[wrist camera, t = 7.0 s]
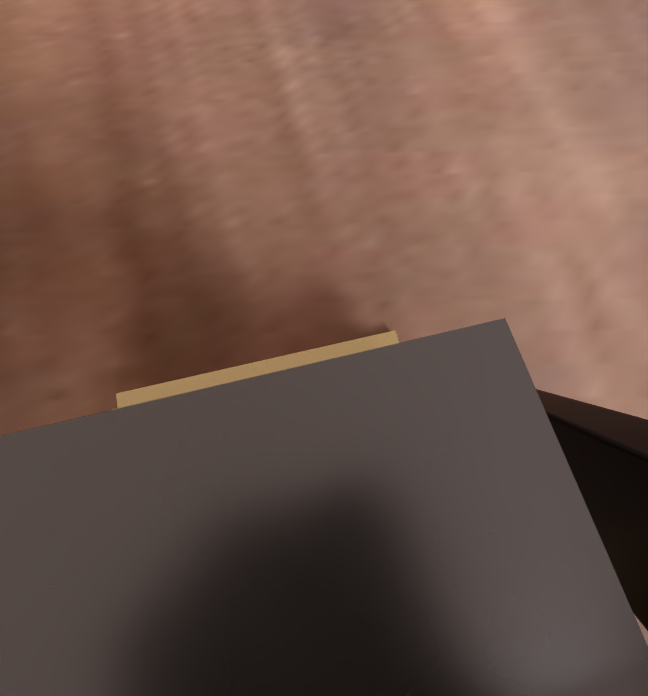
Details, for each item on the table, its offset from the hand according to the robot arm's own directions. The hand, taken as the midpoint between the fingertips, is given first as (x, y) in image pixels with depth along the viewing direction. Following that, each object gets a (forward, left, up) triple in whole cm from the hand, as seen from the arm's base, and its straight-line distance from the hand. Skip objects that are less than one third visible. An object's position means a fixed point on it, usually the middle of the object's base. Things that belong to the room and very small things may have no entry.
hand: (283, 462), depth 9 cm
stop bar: (-1, -1, -7) cm, 7 cm away
